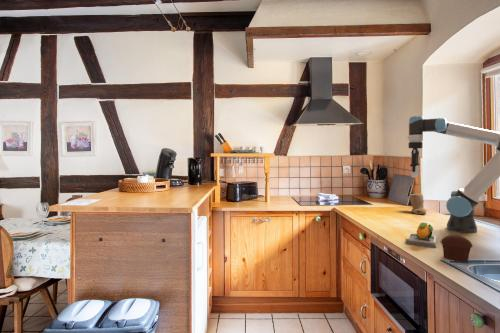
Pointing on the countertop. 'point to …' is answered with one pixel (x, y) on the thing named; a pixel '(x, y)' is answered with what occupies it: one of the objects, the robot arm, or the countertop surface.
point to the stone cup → (417, 203)
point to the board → (421, 240)
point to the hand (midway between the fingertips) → (414, 176)
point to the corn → (424, 231)
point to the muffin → (456, 248)
